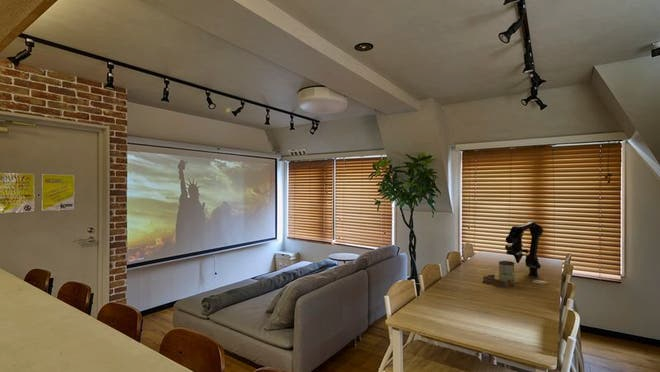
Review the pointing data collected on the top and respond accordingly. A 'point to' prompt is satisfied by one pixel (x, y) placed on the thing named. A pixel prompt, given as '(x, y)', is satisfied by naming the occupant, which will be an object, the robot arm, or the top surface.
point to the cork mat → (539, 282)
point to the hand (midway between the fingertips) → (517, 263)
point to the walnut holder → (497, 281)
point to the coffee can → (506, 270)
